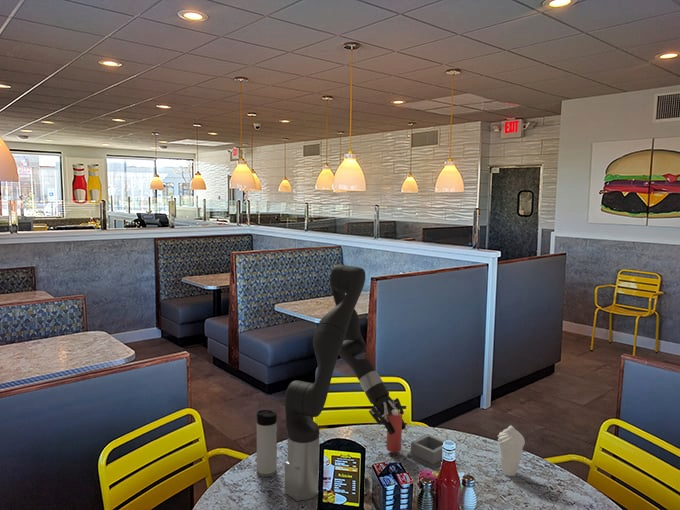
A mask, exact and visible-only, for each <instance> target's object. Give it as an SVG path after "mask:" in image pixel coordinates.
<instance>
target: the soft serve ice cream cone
mask: <svg viewBox="0 0 680 510" xmlns="http://www.w3.org/2000/svg"><path fill="white" fill-rule="evenodd" d="M497 438H498V439H497V441H498V448H499V454H498V455H499V456H498V457H499V458H500V466H501V472H502V474H503V475H505V476H508V477H515V476H516V475H517V473H518V469H519V466H520V462H521V461H522V453H523V452H522V451H523V449H524V447H525V443H526V441H525V440H526V439H525V437H524V436H523V435H522V434H521V433H520V432H519V431H518V430H517V429H516V428H515V427H514V426H513V425H509V426H508V427H507V428H505V429H503V430H502V431H500V432H499V434H498V435H497Z"/></svg>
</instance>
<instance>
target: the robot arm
mask: <svg viewBox="0 0 680 510" xmlns="http://www.w3.org/2000/svg"><path fill="white" fill-rule="evenodd" d="M329 276H330V277H329V284H330V289H331V294H332V296H333V300H334V304H335V306H334V307H333V308H331V310H329V311H328V312H327V313H325V315H324V316H322V317H321V319H320V320H319V321H318V325H317V327H316V329H315V333H314V335H313V338H312V346H313V350H314V351H313V352H314V355H315V359H316V362H317V372H316V376H315V380H314V382H308V381H303V380H298V379H297V380H293V381H291V382H290V383H289V385H288V386H287V389H286V392H285V397H284V398H285V399H284V406H285V407H284V409H285V427H286V432H287V461H285V463H284V493H285V494H286V495H287V496H289V497H290V498H292V499H293V500H294V501H296V502H299V501H300V502H301V501H305V500H310V499H313V498H315V497H316V496H317V495H318V494H317V491H318V492H319V490H318V471H319V472H320V427H319V425H318V423H316V422H315V421H314V420H313V419H312V418H318V417H319V416H320V415H321V413H322V411H323V410H324V407H325V405H326V401H327V397H328V394H329V391H330V386H331V381H332V378H333V375H334V370H335V368H336V364H337V361H338V359H339V357H340V358H341V359H342V360H343V362H345V364H346V365H348V366H349V367H350V369H351V370H352V371H353V373H354V375H355V376H356V378H357V380H358V382H359V383H360V384H359V385H360V386H361V388H362V391H363V392H364V394H365V396H366V397H367V399H368V401H369V403H370V405H373V406H372V408H370V409H369V410H368V413H369V414H370V416H371V417H372V418H373V419H374V420H375V422H376V423H377V424H378V425H379V426H381V425H382V426H385V429H386V432H387V431H388V432H389V433H390V434H391V435H392V434H394V433H395V429H394V428H393V426H392V424H391V422H389V418H388V413H390V412H392V410H398V413H400V414H402V416H403V415H404V413H405V412H404V409H403V407H402V403H401V402H400V399H399V398H398V397H397V398H395V399H392V397H391V396H390V391H389V390H388V389H387V386H386V384H385V383H384V381H383V379H382V378H381V376H380V375H379V373H378V372H377V370H376V368H375V366H374V365H373V364H372V361H370V359H369V358H361V359H359V358H356V357H358V356H360V355H363V354H364V353H365V351H366V349H367V345H366V344H367V343H366V342H365V340H364V338H363V335H362V333H361V326H360V325H361V324H360V316H359V314H358V312H357V310H356V309H355V308H356V305H357V303H358V301H359V299H360V297H361V294H362V292H363V289H364V285H365V283H366V271H365V269H364V268H361V267H358V266H354V265H353V266H351V265H347V264H335V265H334V266H333V268H332V269H331V271H330V275H329ZM406 428H407V425H406V423H405V421H404V419H403V418H402V431H403V430H405V429H406Z"/></svg>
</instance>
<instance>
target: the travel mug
mask: <svg viewBox="0 0 680 510" xmlns="http://www.w3.org/2000/svg"><path fill="white" fill-rule="evenodd" d="M277 415H278V414H277V412H275V411H272V410H270V409H269V410H268V409H263V410H262V409H261V410H258V411H257V412H256V474H257V475H258V476H259V477H263V478H267V477H272V476H274V475H275V474H276V473H277V470H278V469H277V468H278V466H277V462H278V459H277V457H278V456H277V454H278V453H277V452H278V451H277V450H278V447H277V446H278V441H277V440H278V438H277V437H278V432H277V431H278V426H277V425H278V421H277V419H278V416H277Z"/></svg>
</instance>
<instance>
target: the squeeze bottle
mask: <svg viewBox="0 0 680 510" xmlns="http://www.w3.org/2000/svg"><path fill="white" fill-rule="evenodd" d="M388 418H389V422H391V424H392V426H393V428H394V429H395V433H394V434H392V435H391V434H390V433H389V432H388V431H387V430H386V450H387V451H388V452H391V453H398V452H399V453H400V452H401V450H402V433H403V430H402V419H403V415H402V414H400V413H398V410H392V412H390V413H388Z"/></svg>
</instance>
